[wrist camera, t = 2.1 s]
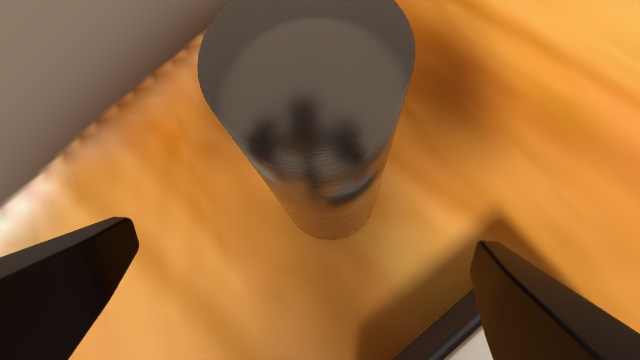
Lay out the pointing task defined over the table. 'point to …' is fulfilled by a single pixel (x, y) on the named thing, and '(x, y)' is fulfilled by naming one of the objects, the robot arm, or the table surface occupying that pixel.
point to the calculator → (452, 336)
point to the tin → (311, 99)
